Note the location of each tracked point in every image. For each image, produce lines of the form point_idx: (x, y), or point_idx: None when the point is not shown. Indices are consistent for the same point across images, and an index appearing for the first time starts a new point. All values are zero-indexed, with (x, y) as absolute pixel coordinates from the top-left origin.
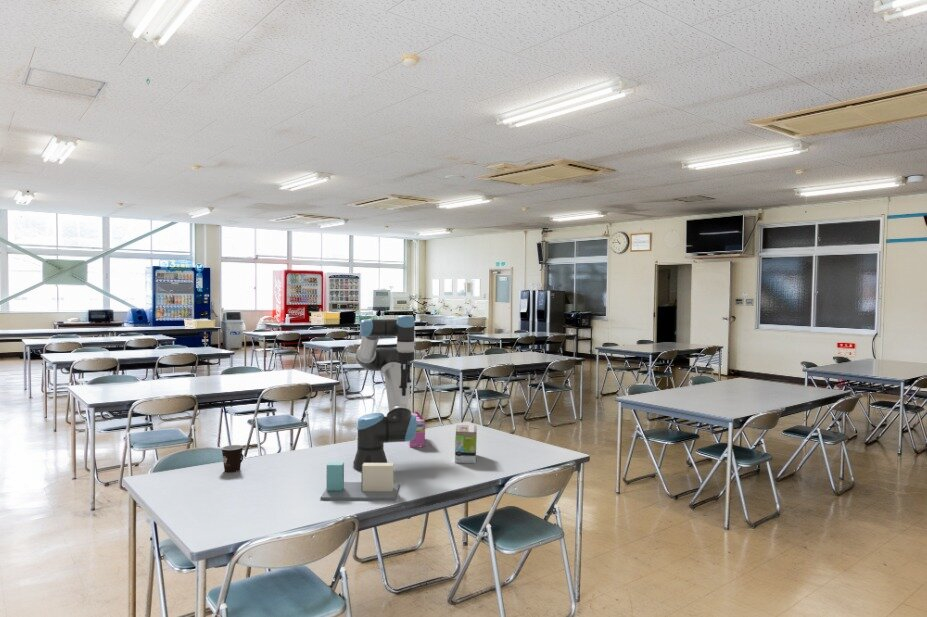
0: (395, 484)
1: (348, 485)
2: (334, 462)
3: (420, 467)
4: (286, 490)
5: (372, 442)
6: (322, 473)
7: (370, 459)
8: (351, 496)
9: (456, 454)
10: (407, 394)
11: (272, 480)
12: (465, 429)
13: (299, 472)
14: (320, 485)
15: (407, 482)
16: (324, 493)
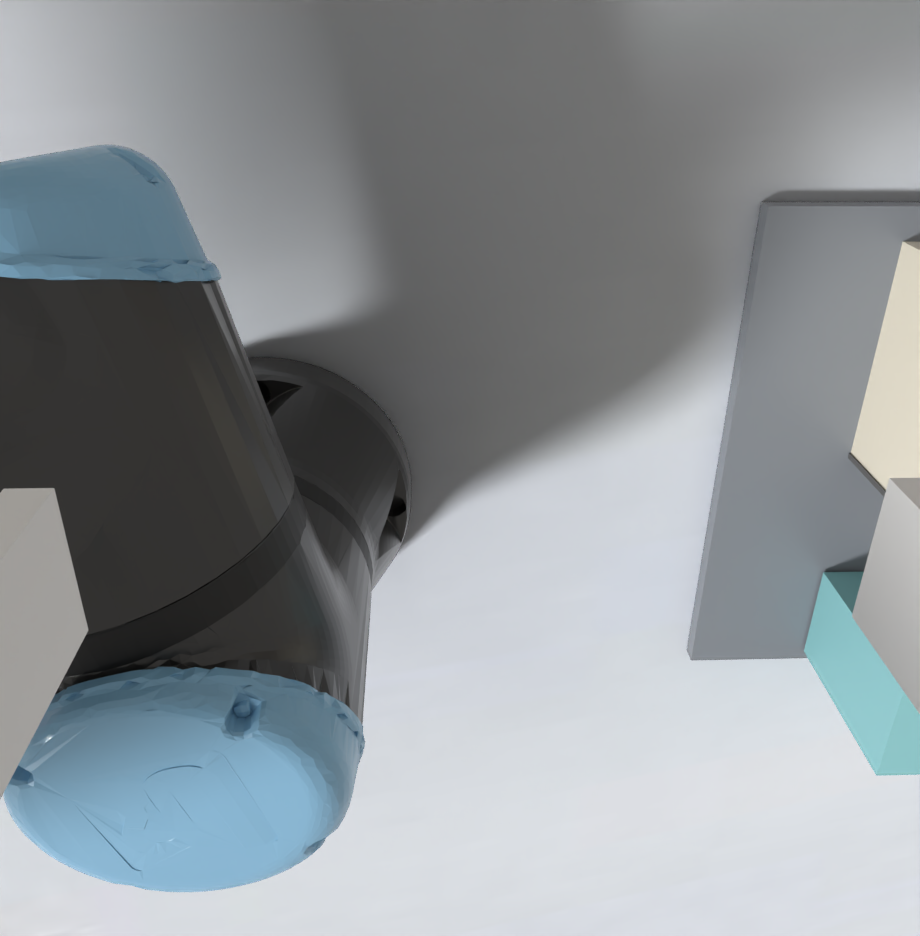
0: (819, 234)
1: (779, 552)
2: (895, 742)
3: (249, 35)
4: (759, 817)
5: (360, 587)
6: (458, 730)
7: (387, 513)
8: None
9: None
10: (30, 595)
11: (583, 904)
12: None
13: (439, 835)
14: (697, 694)
15: (707, 135)
16: None
